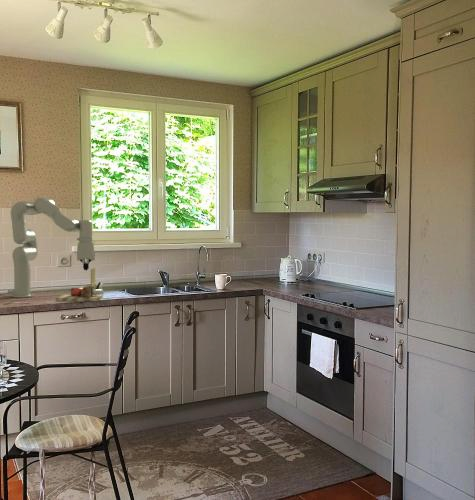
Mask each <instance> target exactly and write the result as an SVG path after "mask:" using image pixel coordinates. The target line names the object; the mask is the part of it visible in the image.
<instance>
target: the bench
mask: <svg viewBox="0 0 475 500" xmlns="http://www.w3.org/2000/svg"><path fill="white" fill-rule="evenodd" d="M94 287H95V286H93V287H91V284H90V285H89V284H86V286H83V287H82V288H83V290H81V296H71V294H60V295H59V296H57V297H56V302H100V301H101V300H103V297H104V294H103V295H94V294H91V290H94ZM100 299H101V300H100Z"/></svg>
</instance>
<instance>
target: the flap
mask: <svg viewBox="0 0 475 500" xmlns="http://www.w3.org/2000/svg"><path fill="white" fill-rule="evenodd" d="M90 285H91V287H93V286H94V287H95V285H96V268H95V267H93V268H91V269H90Z"/></svg>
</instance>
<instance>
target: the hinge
mask: <svg viewBox="0 0 475 500" xmlns="http://www.w3.org/2000/svg"><path fill="white" fill-rule="evenodd" d="M103 287H104V283H103V282H100V281H97V282H95V286H94V290H103ZM94 295H97V294H94Z"/></svg>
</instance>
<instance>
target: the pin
mask: <svg viewBox="0 0 475 500" xmlns="http://www.w3.org/2000/svg"><path fill="white" fill-rule="evenodd" d="M81 290H83V287H71V290H70V295H71V296H81ZM104 293H105V292H104V289H102V290H91V294H97V295H103V296H104Z"/></svg>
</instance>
